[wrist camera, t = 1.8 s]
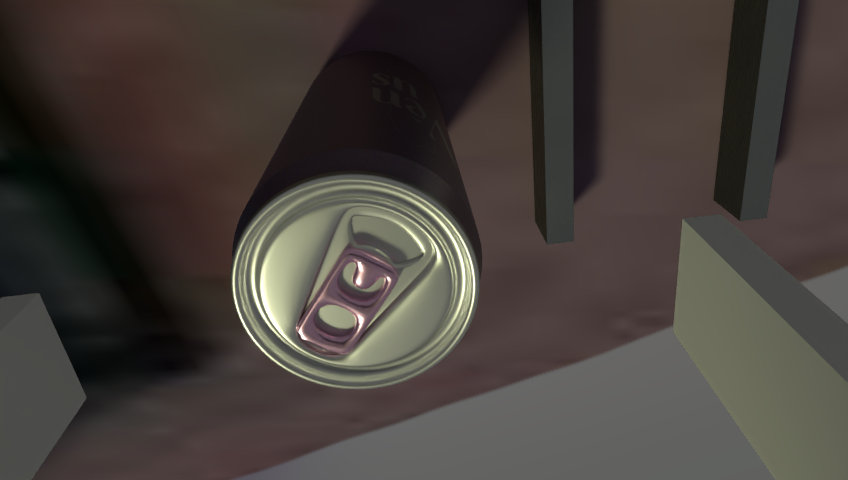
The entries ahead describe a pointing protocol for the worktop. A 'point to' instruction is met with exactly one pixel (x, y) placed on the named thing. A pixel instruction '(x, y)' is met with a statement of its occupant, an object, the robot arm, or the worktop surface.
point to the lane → (741, 122)
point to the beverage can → (359, 233)
